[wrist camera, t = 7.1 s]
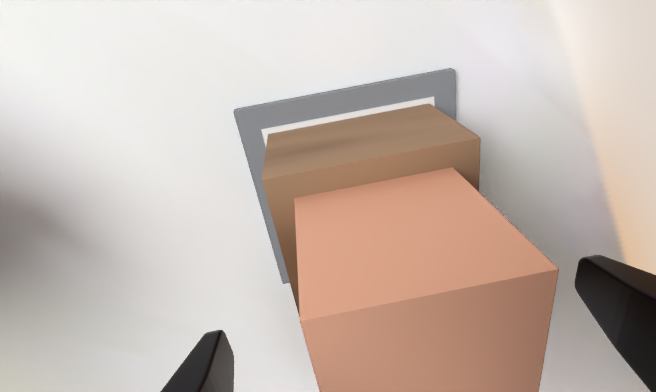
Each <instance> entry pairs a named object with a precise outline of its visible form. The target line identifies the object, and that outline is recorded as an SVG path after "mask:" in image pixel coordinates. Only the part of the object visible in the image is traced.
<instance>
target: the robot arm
mask: <svg viewBox="0 0 656 392" xmlns="http://www.w3.org/2000/svg"><path fill="white" fill-rule="evenodd" d="M575 288H576V291H577V293H578V294H579V296H580V297H581V299H582V300H583V302H584V303H585V305H586V306H587V307H588V309H589V310H590V312H591V313H592V315H593V316H594V318H595V319H596V321H597V322H598V324H599V325H600V327H601V328H602V330H603V331H604V333H605V334H606V336H607V337H608V338H609V340H610V341H611V343H612V344H613V345H614V347H615V348H616V349H617V351H618V352H619V353H620V354H621V356H622V357H623V358H624V359H625V361H626V362H627V363H628V364H629V366H630V367H631V368H632V369H633V370H634V372H635V373H636V374H637V375H638V376H639V378H640V379H641V380H642V381H643V383H644V384H645V385H646V386H647V387H648V389H649V390H650V391H651V392H656V275H653V274H651V273H648V272H645V271H643V270H640V269H637V268H634V267H632V266H629V265H626V264H623V263H620V262H618V261H615V260H612V259H609V258H607V257H604V256H601V255H593V256H588V257H583V258H581V259H580V260H579V263H578V268H577V273H576V278H575ZM233 390H234V355H233V351H232V349H231V346H230V344H229V342H228V339H227V337H226V334H225V333H224V331H223V330H216V331H211V332H207V333H206V334H204V335H203V337H202V338H201V339H200V341H199V342H198V343H197V345H196V346H195V347H194V349H193V350H192V351H191V352H190V354H189V355H188V356H187V358H186V359H185V360H184V362H183V363H182V364H181V366H180V367H179V368H178V370H177V371H176V372H175V373H174V375H173V376H172V377H171V379H170V380H169V381H168V383H167V384H166V385H165V387H164V388H163V389H162V391H161V392H233Z"/></svg>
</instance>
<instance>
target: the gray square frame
mask: <svg viewBox="0 0 656 392" xmlns="http://www.w3.org/2000/svg"><path fill="white" fill-rule="evenodd" d="M428 103H429V104H431V105H432V106H434V107H435V108H437V109H438V110H440V111H441V112H443V113H444V114H446V115H447V116H449V117H450V118H452V119H453V120H455V70H454V69H451V68H449V69H443V70H438V71H433V72H428V73H422V74H417V75H412V76H407V77H401V78H396V79H391V80H386V81H380V82H375V83H370V84H364V85H359V86H354V87H349V88H343V89H338V90H333V91H328V92H322V93H317V94H312V95H306V96H301V97H296V98H291V99H285V100H280V101H275V102H270V103H264V104H259V105H254V106H249V107H243V108H238V109H235V110H234V116H235V119H236V123H237V126H238V130H239V133H240V137H241V140H242V143H243V147H244V150H245V154H246V157H247V161H248V164H249V168H250V171H251V175H252V178H253V182H254V185H255V189H256V192H257V195H258V199H259V202H260V206H261V209H262V213H263V216H264V220H265V223H266V227H267V230H268V234H269V237H270V241H271V244H272V247H273V251H274V254H275V258H276V261H277V265H278V268H279V272H280V275H281V279H282V282H283V284H286V283H290V281H289V277H288V273H287V270H286V266H285V262H284V259H283V255H282V252H281V248H280V244H279V241H278V237H277V233H276V230H275V226H274V223H273V219H272V215H271V212H270V208H269V204H268V201H267V197H266V194H265V190H264V186H263V183H262V174H263V167H264V159H265V152H266V145H267V138H268V134H271V133H276V132H281V131H287V130H292V129H297V128H302V127H308V126H313V125H318V124H323V123H329V122H334V121H339V120H344V119H349V118H355V117H360V116H365V115H370V114H376V113H381V112H386V111H391V110H397V109H402V108H407V107H412V106H417V105H423V104H428Z"/></svg>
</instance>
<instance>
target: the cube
mask: <svg viewBox="0 0 656 392" xmlns="http://www.w3.org/2000/svg"><path fill="white" fill-rule="evenodd" d="M294 203H295V225H296V247H297V268H298V290H299V312H300V323H301V327H302V330H303V334H304V337H305V341H306V344H307V348H308V352H309V355H310V359H311V362H312V366H313V369H314V373H315V376H316V380H317V384H318V387H319V391H320V392H539V386H540V380H541V374H542V368H543V362H544V356H545V350H546V344H547V338H548V332H549V326H550V319H551V313H552V307H553V301H554V295H555V289H556V283H557V277H558V271H559V269H558V268H557V267H556V266H555V265H554V264H553V263H552V262H551V261H550V260H549V259H548V258H547V257H546V256H545V255H544V254H543V253H542V252H541V251H540V250H539V249H537V248H536V247H535V246H534V245H533V244H532V243H531V242H530V241H529V240H528V239H527V238H526V237H525V236H524V235H523V234H522V233H521V232H520V231H519V230H518V229H517V228H516V227H515V226H513V225H512V224H511V223H510V222H509V221H508V220H507V219H506V218H505V217H504V216H503V215H502V214H501V213H500V212H499V211H498V210H497V209H496V208H495V207H494V206H493V205H492V204H491V203H489V202H488V201H487V200H486V199H485V198H484V197H483V196H482V195H481V194H480V193H479V192H478V191H477V190H476V189H475V188H474V187H473V186H472V185H471V184H470V183H469V182H468V181H467V180H465V179H464V178H463V177H462V176H461V175H460V174H459V173H458V172H457V171H456V170H455V169H454V168H453V167H452V168H447V169H442V170H436V171H431V172H426V173H421V174H416V175H411V176H406V177H401V178H396V179H391V180H386V181H380V182H375V183H370V184H365V185H360V186H355V187H350V188H345V189H340V190H335V191H330V192H325V193H319V194H314V195H309V196H304V197H299V198H294Z"/></svg>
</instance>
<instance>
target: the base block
mask: <svg viewBox="0 0 656 392" xmlns="http://www.w3.org/2000/svg"><path fill="white" fill-rule="evenodd" d="M479 163H480V137H479V136H477V135H476V134H474V133H473V132H471V131H470V130H468V129H467V128H465V127H464V126H462V125H461V124H459V123H458V122H456V121H455V120H453V119H452V118H450V117H449V116H447V115H446V114H444V113H443V112H441V111H440V110H438V109H437V108H435V107H434V106H432V105H431V104H429V103H428V104H423V105H417V106H412V107H407V108H402V109H397V110H391V111H386V112H381V113H376V114H370V115H365V116H360V117H355V118H349V119H344V120H339V121H334V122H329V123H323V124H318V125H313V126H308V127H302V128H297V129H292V130H287V131H281V132H276V133H271V134H268V138H267V145H266V152H265V159H264V167H263V174H262V183H263V186H264V190H265V194H266V197H267V201H268V204H269V208H270V212H271V215H272V219H273V223H274V226H275V230H276V233H277V237H278V241H279V244H280V248H281V252H282V255H283V259H284V262H285V266H286V270H287V273H288V277H289V281H290V284H291V288H292V291H293V295H294V299H295V302H296V306H297V310H298V313H299V317H300V312H299V290H298V268H297V247H296V225H295V203H294V198H299V197H304V196H309V195H314V194H319V193H325V192H330V191H335V190H340V189H345V188H350V187H355V186H360V185H365V184H370V183H375V182H380V181H386V180H391V179H396V178H401V177H406V176H411V175H416V174H421V173H426V172H431V171H436V170H442V169H447V168H452V167H453V168H454V169H455V170H456V171H457V172H458V173H459V174H460V175H461V176H462V177H463V178H464V179H465V180H467V181H468V182H469V183H470V184H471V185H472V186H473V187H474V188H475V189H476V190H477V191H478V192H479Z"/></svg>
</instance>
